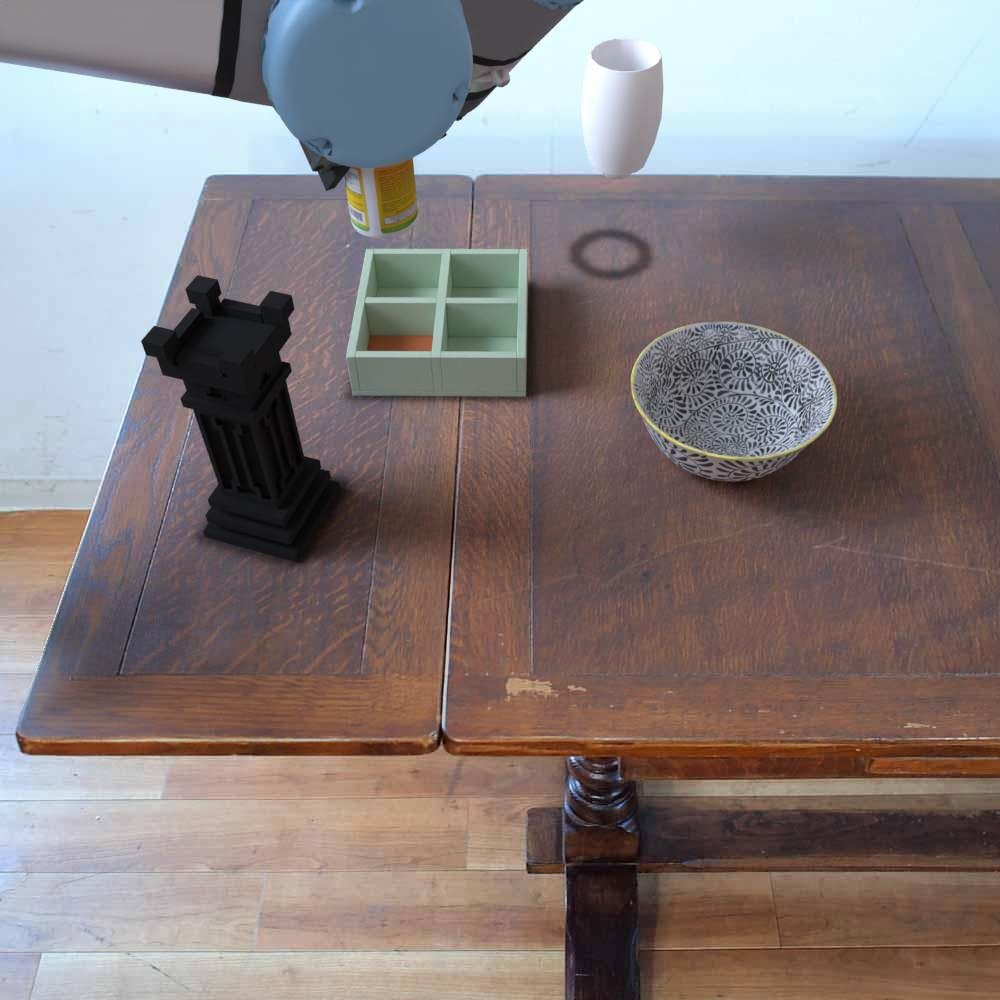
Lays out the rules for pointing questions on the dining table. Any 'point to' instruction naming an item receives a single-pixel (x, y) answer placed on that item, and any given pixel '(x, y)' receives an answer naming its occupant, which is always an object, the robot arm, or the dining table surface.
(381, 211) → the supplement bottle
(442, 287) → the grid
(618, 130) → the cup
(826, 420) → the bowl
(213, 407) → the chess piece
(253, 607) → the dining table surface
